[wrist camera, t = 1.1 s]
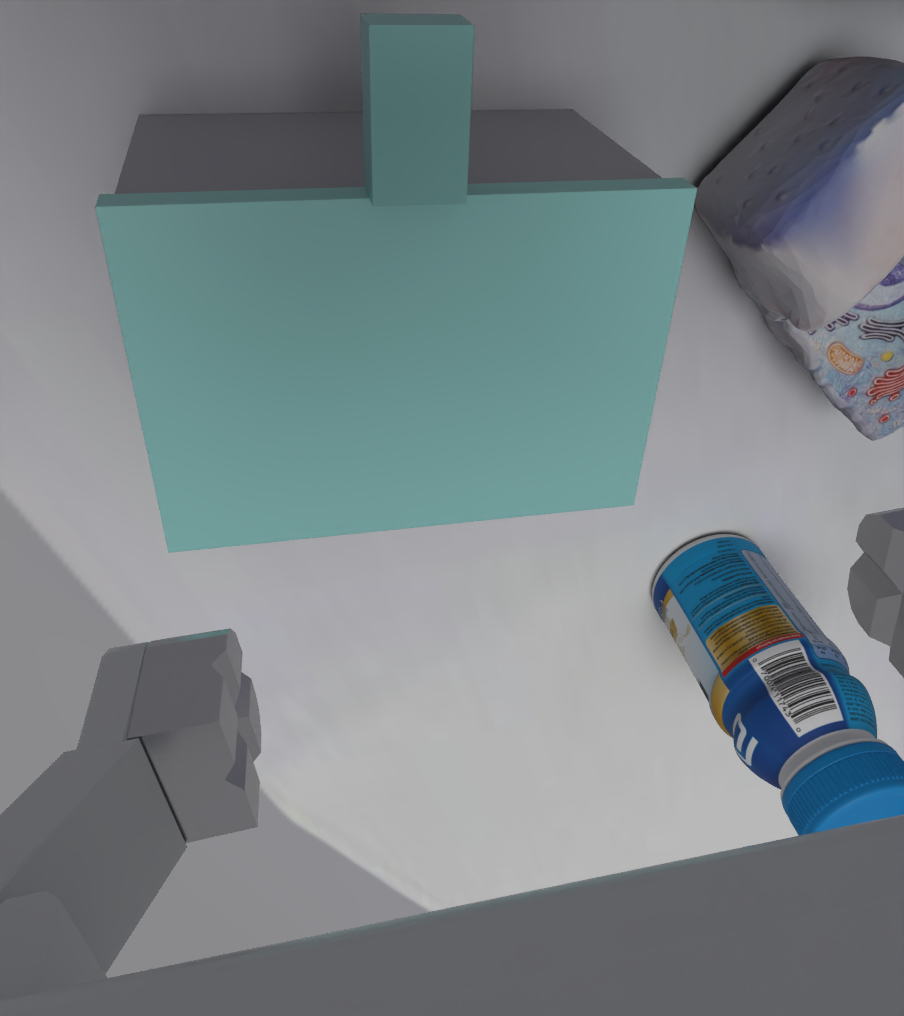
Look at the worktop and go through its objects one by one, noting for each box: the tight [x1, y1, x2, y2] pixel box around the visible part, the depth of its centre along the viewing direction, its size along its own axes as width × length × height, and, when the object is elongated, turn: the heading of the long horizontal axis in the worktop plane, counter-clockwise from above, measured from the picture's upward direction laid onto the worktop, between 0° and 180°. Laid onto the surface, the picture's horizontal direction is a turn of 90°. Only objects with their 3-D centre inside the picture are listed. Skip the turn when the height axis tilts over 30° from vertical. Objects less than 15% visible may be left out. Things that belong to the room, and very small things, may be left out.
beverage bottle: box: [652, 534, 904, 836], centre depth 53 cm, size 8×8×20 cm
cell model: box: [695, 57, 904, 440], centre depth 42 cm, size 13×11×20 cm
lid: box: [95, 14, 697, 553], centre depth 31 cm, size 19×20×2 cm
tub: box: [115, 109, 661, 194], centre depth 37 cm, size 13×19×12 cm
